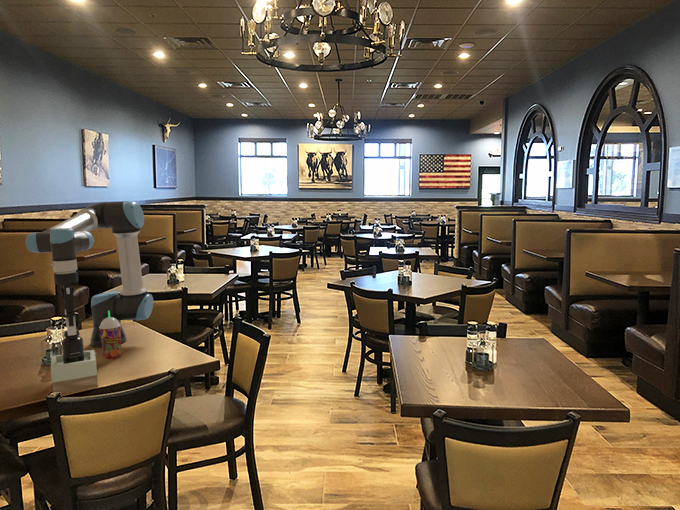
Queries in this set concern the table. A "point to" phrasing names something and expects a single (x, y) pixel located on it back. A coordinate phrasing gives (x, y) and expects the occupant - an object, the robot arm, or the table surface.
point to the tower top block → (73, 367)
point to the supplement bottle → (72, 348)
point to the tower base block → (75, 384)
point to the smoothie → (111, 337)
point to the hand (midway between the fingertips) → (71, 330)
